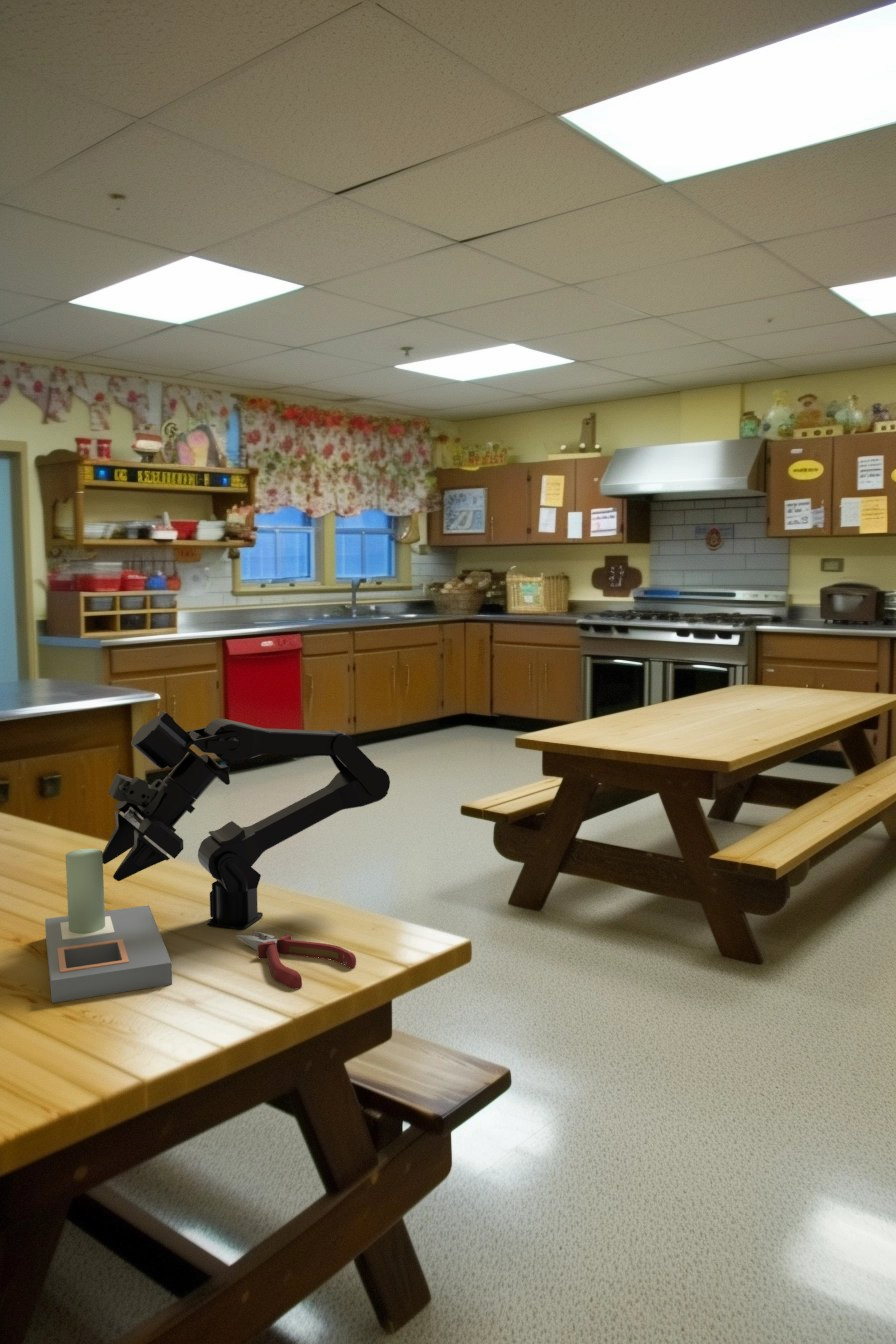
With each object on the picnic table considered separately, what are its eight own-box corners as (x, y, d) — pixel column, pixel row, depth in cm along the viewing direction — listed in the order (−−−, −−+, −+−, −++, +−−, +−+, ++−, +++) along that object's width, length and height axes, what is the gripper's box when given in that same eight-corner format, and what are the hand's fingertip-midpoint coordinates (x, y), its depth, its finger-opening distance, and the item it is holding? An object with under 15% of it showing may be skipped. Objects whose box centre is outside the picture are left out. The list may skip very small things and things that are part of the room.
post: (112, 923, 150) (109, 850, 148) (90, 935, 145) (87, 860, 144) (83, 919, 151) (80, 847, 150) (61, 931, 146) (57, 856, 145)
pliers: (276, 931, 156) (275, 915, 156) (360, 969, 142) (360, 951, 142) (211, 952, 148) (210, 935, 148) (293, 995, 134) (293, 976, 134)
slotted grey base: (172, 984, 136) (171, 961, 136) (52, 1003, 130) (50, 979, 130) (149, 923, 158) (149, 904, 158) (45, 938, 152) (45, 917, 152)
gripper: (127, 744, 157) (54, 822, 153) (158, 766, 141) (78, 854, 137) (179, 788, 162) (110, 865, 158) (215, 814, 146) (139, 901, 142)
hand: (108, 870), depth 149 cm, fingers open, 9 cm apart
